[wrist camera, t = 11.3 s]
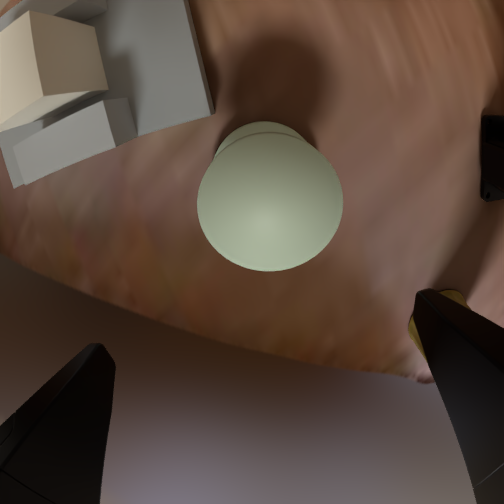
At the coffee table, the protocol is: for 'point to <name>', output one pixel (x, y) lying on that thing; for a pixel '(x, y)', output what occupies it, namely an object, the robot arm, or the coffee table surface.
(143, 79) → the notch board
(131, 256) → the coffee table surface
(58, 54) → the block
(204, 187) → the spool
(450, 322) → the robot arm
